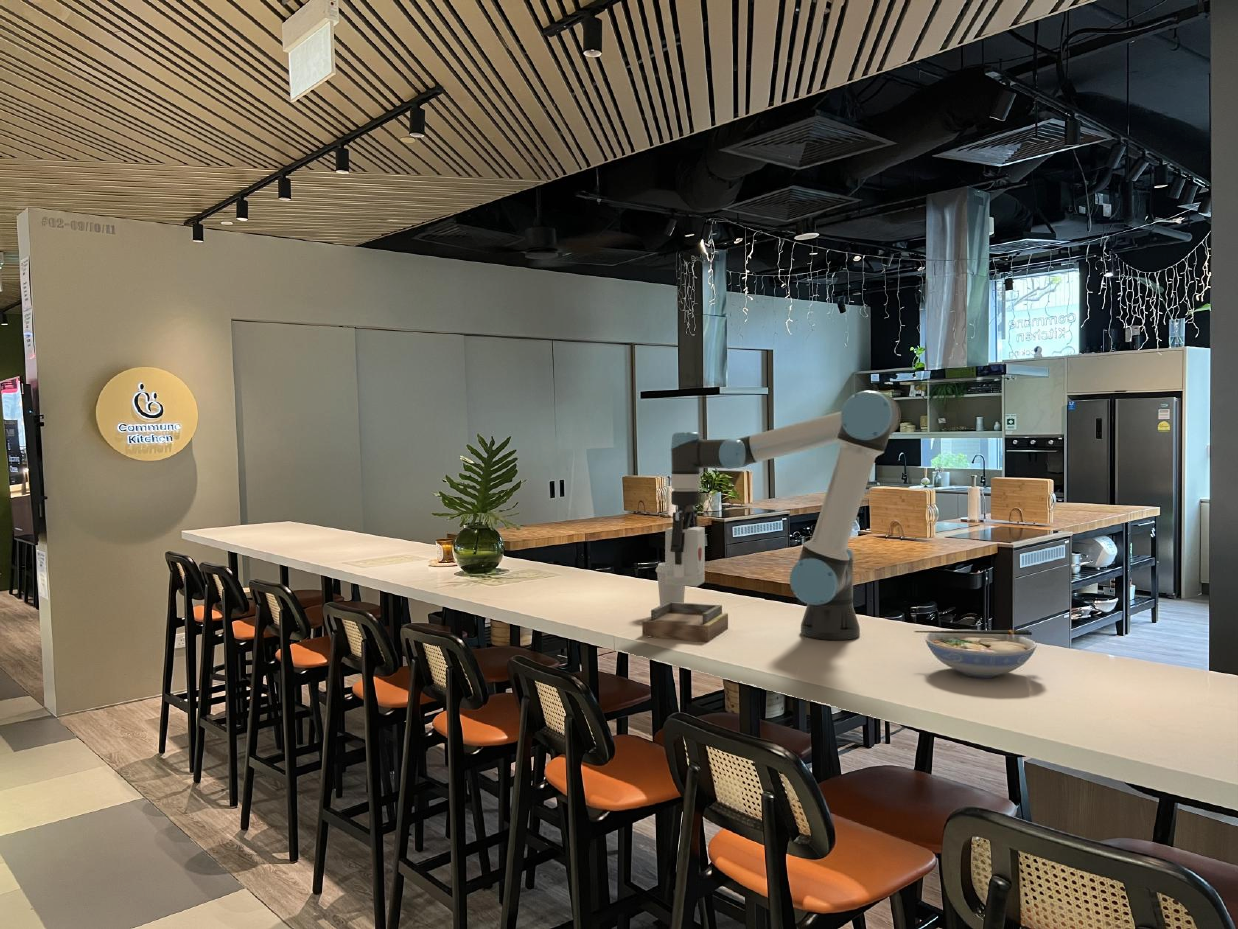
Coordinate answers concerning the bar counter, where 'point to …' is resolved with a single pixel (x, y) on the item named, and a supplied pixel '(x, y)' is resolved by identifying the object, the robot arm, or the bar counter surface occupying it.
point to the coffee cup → (668, 588)
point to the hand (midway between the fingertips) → (685, 574)
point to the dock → (686, 622)
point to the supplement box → (687, 558)
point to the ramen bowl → (981, 650)
